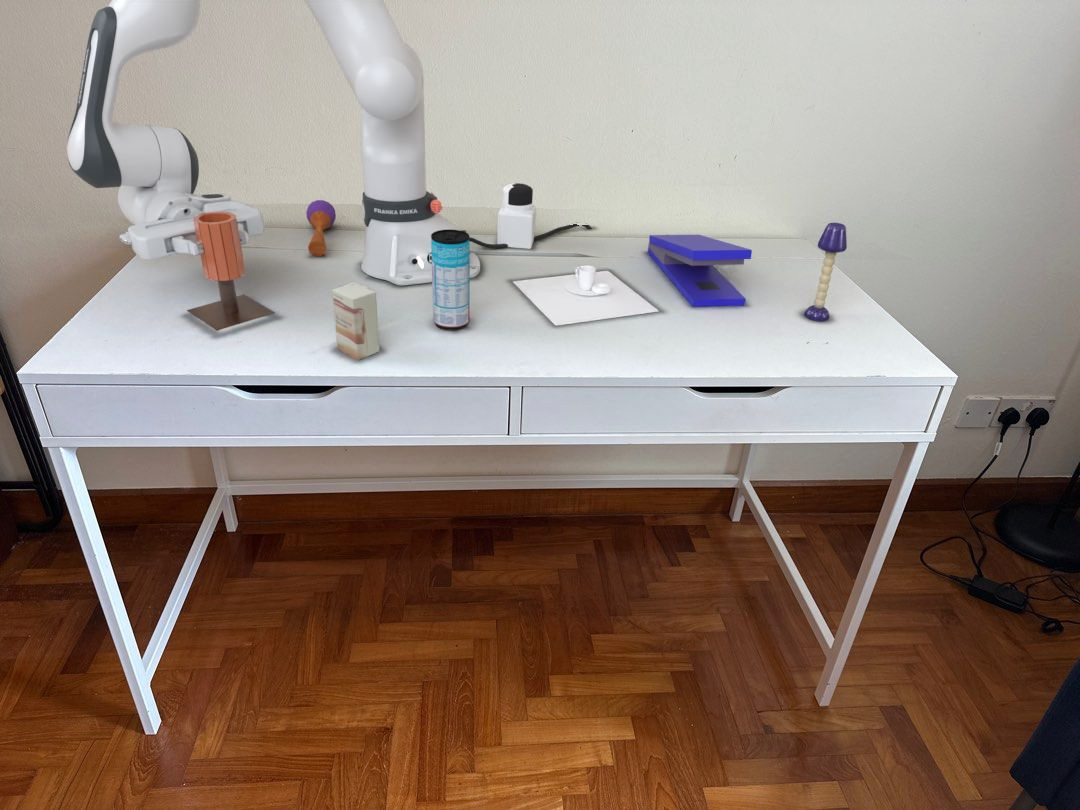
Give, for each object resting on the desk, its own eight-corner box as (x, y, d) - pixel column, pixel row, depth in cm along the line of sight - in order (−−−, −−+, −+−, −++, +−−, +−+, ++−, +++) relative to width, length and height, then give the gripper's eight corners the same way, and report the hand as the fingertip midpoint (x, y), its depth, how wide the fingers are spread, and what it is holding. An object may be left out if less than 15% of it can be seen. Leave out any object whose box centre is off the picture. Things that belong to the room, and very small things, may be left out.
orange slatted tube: (233, 263, 122) (223, 208, 118) (252, 274, 119) (243, 218, 114) (197, 272, 119) (186, 216, 114) (216, 284, 115) (205, 226, 111)
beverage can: (473, 318, 127) (474, 231, 119) (463, 333, 122) (463, 243, 114) (439, 314, 127) (437, 227, 120) (428, 328, 122) (425, 239, 115)
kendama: (297, 237, 144) (303, 198, 160) (306, 265, 148) (312, 224, 164) (328, 231, 145) (331, 193, 161) (336, 259, 149) (339, 219, 164)
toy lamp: (813, 323, 132) (838, 230, 123) (794, 313, 135) (817, 221, 126) (833, 319, 134) (859, 227, 125) (814, 309, 137) (837, 219, 128)
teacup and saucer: (617, 296, 137) (619, 275, 135) (577, 301, 135) (579, 280, 132) (595, 279, 144) (597, 258, 142) (557, 283, 141) (559, 262, 139)
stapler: (689, 306, 135) (697, 254, 130) (643, 252, 158) (649, 205, 153) (749, 305, 137) (760, 253, 132) (695, 251, 160) (703, 205, 155)
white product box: (336, 350, 115) (329, 288, 109) (359, 341, 118) (354, 280, 112) (358, 361, 112) (352, 298, 107) (381, 352, 115) (377, 290, 110)
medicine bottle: (534, 238, 162) (537, 182, 156) (531, 249, 156) (533, 191, 150) (501, 235, 163) (503, 179, 157) (497, 246, 157) (498, 189, 151)
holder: (244, 299, 129) (231, 221, 122) (276, 318, 123) (264, 237, 116) (187, 315, 122) (170, 234, 115) (217, 336, 117) (201, 252, 110)
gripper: (109, 215, 115) (149, 239, 107) (235, 191, 128) (279, 211, 121) (119, 255, 119) (159, 280, 111) (241, 227, 132) (284, 249, 124)
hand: (222, 244), depth 116 cm, fingers closed on orange slatted tube, 6 cm apart
